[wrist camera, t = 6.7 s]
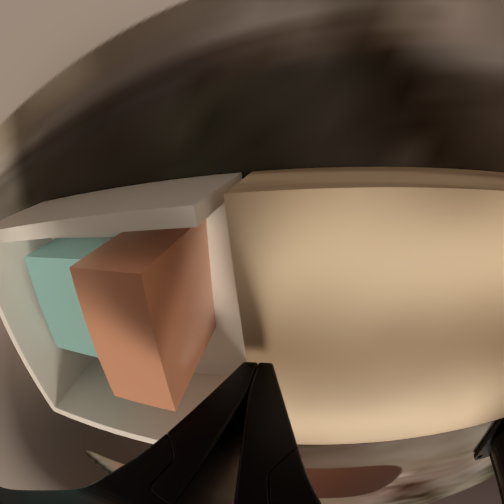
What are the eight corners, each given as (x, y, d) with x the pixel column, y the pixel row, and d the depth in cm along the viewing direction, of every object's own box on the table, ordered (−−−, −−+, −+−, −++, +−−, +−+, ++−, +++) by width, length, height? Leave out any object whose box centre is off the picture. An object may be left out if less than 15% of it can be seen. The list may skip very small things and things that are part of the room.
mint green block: (57, 346, 13) (81, 322, 15) (135, 365, 12) (156, 334, 14) (24, 256, 11) (56, 238, 13) (102, 259, 10) (134, 237, 12)
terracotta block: (175, 411, 9) (114, 395, 9) (216, 325, 13) (166, 320, 14) (140, 274, 7) (69, 267, 7) (205, 214, 12) (149, 214, 12)
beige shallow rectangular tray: (534, 352, 12) (562, 395, 8) (272, 378, 15) (259, 442, 11) (577, 182, 8) (629, 205, 4) (252, 171, 11) (223, 193, 7)
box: (264, 378, 15) (245, 460, 10) (96, 357, 17) (53, 411, 12) (241, 172, 11) (193, 205, 7) (44, 201, 13) (-29, 234, 9)
